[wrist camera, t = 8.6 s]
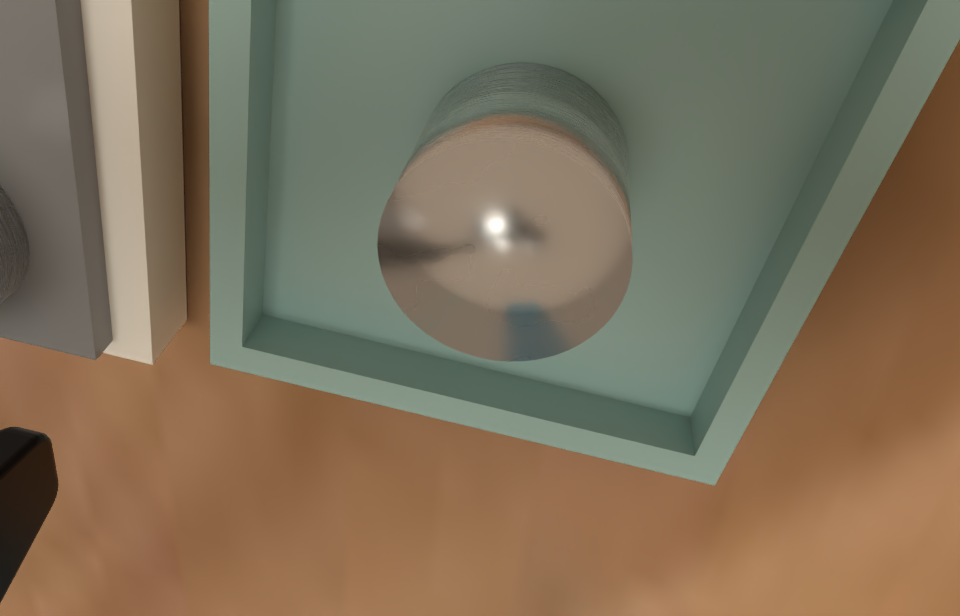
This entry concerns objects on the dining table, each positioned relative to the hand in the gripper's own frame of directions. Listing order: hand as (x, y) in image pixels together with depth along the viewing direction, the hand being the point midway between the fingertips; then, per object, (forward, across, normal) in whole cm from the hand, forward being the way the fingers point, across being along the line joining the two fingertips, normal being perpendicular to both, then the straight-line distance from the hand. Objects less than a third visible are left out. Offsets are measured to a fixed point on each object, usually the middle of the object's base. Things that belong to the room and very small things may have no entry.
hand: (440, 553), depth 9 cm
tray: (+11, 0, 0) cm, 11 cm away
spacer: (+10, 0, 0) cm, 10 cm away
